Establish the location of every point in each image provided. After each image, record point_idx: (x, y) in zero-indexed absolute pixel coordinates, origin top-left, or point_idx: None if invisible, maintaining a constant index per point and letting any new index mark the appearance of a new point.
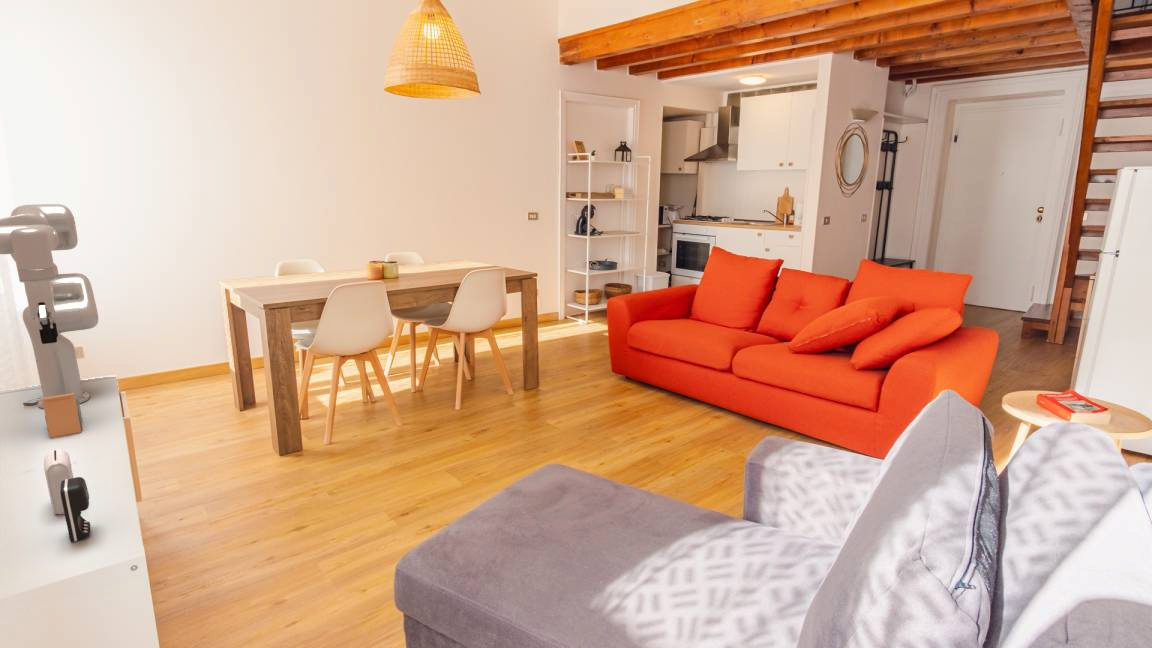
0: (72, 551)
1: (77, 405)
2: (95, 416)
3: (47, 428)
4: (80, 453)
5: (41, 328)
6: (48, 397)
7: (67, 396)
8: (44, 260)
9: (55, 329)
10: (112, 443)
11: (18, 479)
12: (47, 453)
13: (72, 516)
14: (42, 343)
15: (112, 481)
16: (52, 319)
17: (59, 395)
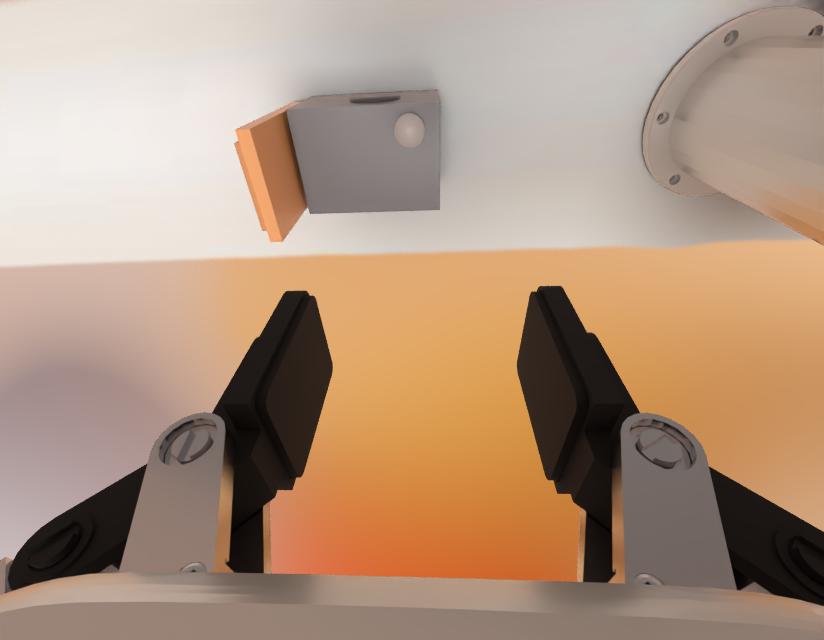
0: None
1: (369, 209)
2: (475, 210)
3: (301, 102)
4: (181, 184)
5: (173, 443)
6: (251, 155)
7: (259, 219)
8: None
9: (531, 421)
10: (232, 248)
11: (3, 33)
12: None
13: None
14: (288, 292)
15: (5, 248)
16: (582, 534)
17: (267, 195)
